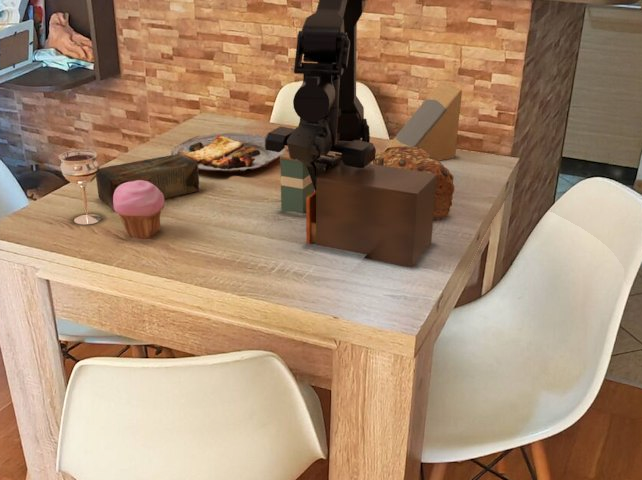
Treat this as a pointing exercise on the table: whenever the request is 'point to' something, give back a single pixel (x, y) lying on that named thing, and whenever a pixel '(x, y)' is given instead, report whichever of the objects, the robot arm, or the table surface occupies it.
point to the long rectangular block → (294, 184)
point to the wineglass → (81, 176)
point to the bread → (425, 163)
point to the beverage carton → (151, 176)
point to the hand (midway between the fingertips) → (317, 194)
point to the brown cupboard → (376, 211)
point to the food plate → (227, 152)
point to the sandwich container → (434, 123)
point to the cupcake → (139, 207)
